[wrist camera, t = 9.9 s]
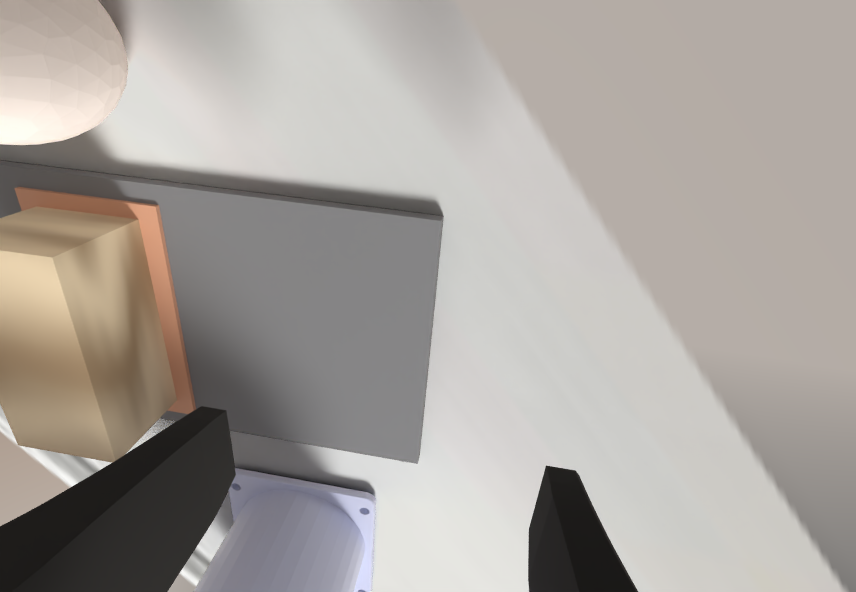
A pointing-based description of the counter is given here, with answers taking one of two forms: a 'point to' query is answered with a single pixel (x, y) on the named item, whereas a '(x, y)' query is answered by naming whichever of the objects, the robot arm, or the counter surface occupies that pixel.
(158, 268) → the terracotta strip
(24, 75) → the egg
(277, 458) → the counter surface
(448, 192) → the counter surface
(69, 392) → the tan wooden block
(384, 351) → the rubber mat
